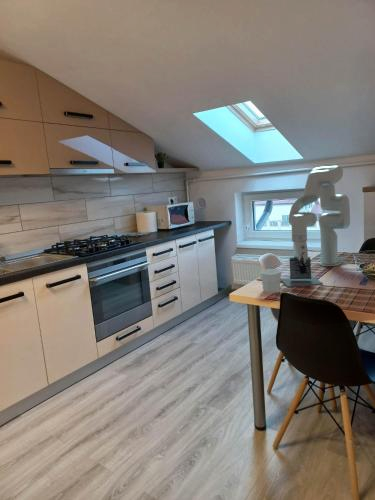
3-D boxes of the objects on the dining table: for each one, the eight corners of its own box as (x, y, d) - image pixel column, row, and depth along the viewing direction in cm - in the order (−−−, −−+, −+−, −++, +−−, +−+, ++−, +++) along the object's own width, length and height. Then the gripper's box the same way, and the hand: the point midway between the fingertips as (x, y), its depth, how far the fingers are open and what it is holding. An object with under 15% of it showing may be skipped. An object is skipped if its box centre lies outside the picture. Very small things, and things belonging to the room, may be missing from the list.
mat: (313, 277, 203) (313, 276, 203) (322, 284, 189) (322, 283, 189) (280, 280, 203) (280, 279, 203) (287, 287, 189) (287, 286, 189)
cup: (270, 295, 180) (269, 275, 178) (257, 290, 188) (256, 271, 187) (286, 290, 184) (285, 271, 182) (272, 286, 193) (271, 268, 191)
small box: (311, 275, 197) (310, 256, 195) (311, 279, 191) (310, 259, 189) (290, 275, 200) (290, 256, 198) (290, 279, 194) (289, 259, 192)
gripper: (312, 240, 183) (313, 274, 186) (301, 235, 200) (302, 266, 204) (297, 241, 183) (298, 275, 186) (287, 236, 200) (288, 267, 204)
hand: (300, 270), depth 195 cm, fingers closed on small box, 7 cm apart
